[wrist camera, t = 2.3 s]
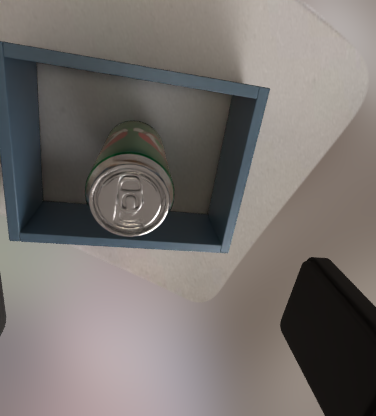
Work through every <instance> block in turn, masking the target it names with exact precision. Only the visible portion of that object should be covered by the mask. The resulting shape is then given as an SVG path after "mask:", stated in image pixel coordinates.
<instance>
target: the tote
mask: <svg viewBox="0 0 376 416" xmlns="http://www.w3.org/2000/svg"><path fill="white" fill-rule="evenodd" d="M36 62H38V63H44V64H50V65H56V66H62V67H68V68H74V69H80V70H86V71H92V72H98V73H104V74H110V75H116V76H122V77H128V78H134V79H140V80H146V81H152V82H159V83H165V84H171V85H177V86H183V87H189V88H195V89H201V90H207V91H213V92H219V93H225V94H231V95H233V96H232V101H231V106H230V110H229V115H228V120H227V125H226V130H225V135H224V139H223V144H222V149H221V154H220V159H219V163H218V168H217V173H216V178H215V183H214V188H213V192H212V197H211V202H210V207H209V212H208V215H207V214H196V213H184V212H172V211H170V212H169V214H168V215H167V216H166V218H165V219H164V220H163V221H162V223H161V224H160V225H159V226H158V227H157V228H155V229H154V230H152V231H150V232H149V233H146V234H143V235H140V236H132V237H128V236H120V235H117V234H114V233H111V232H109V231H108V230H106V229H105V228H103V227H102V226H101V225H100V224H99V223H98V222H97V221H96V219H95V218H94V216H93V214H92V213H91V211H90V209H89V207H88V205H87V204H75V203H63V202H50V201H43V188H42V168H41V148H40V127H39V107H38V87H37V66H36ZM269 91H270V88H265V87H259V86H254V85H248V84H242V83H237V82H231V81H225V80H220V79H214V78H208V77H202V76H197V75H191V74H185V73H180V72H174V71H168V70H162V69H157V68H151V67H145V66H140V65H134V64H128V63H122V62H117V61H111V60H105V59H100V58H94V57H88V56H82V55H77V54H71V53H65V52H60V51H54V50H48V49H42V48H37V47H31V46H25V45H20V44H14V43H8V42H2V41H0V157H1V167H2V176H3V185H4V195H5V204H6V213H7V223H8V231H9V240H10V241H22V242H39V243H56V244H74V245H91V246H109V247H126V248H144V249H162V250H179V251H197V252H215V253H228V252H229V248H230V244H231V240H232V237H233V233H234V229H235V225H236V221H237V217H238V213H239V209H240V205H241V201H242V197H243V193H244V189H245V185H246V181H247V177H248V174H249V170H250V166H251V162H252V158H253V154H254V150H255V146H256V142H257V138H258V134H259V130H260V126H261V122H262V118H263V115H264V111H265V107H266V103H267V99H268V95H269Z"/></svg>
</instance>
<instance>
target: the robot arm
mask: <svg viewBox="0 0 376 416" xmlns="http://www.w3.org/2000/svg"><path fill="white" fill-rule="evenodd" d="M5 323H6V312H5V305H4V297H3V290H2V283H1V276H0V335H1V334H2V332H3V329H4V327H5ZM280 326H281V331H282V333H283V335H284V337H285V339H286V341H287V343H288V345H289V347H290V349H291V351H292V353H293V355H294V357H295V358H296V361H297V362H298V364H299V366H300V368H301V370H302V372H303V374H304V376H305V378H306V380H307V382H308V384H309V386H310V388H311V389H312V391H313V393H314V395H315V397H316V399H317V401H318V403H319V405H320V407H321V409H322V411H323V413H324V415H325V416H376V307H375V306H374V305H373V304H372V303H371V302H370V301H369V300H368V299H367V298H366V297H365V296H364V295H363V294H362V292H361V291H360V290H359V289H357V287H356V286H355V285H354V284H353V283H352V282H351V281H350V280H349V279H348V278H347V277H346V276H345V275H344V274H343V273H342V272H341V271H340V270H339V269H338V268H337V267H336V266H335V264H333V263H332V261H331V260H329V259H328V258H314V257H311V258H309V259H308V260H307V261H305V262H304V263H303V264H302V266H301V268H300V271H299V274H298V276H297V279H296V282H295V284H294V287H293V290H292V292H291V295H290V298H289V300H288V303H287V306H286V308H285V311H284V314H283V316H282V319H281V324H280Z"/></svg>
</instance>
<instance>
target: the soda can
mask: <svg viewBox="0 0 376 416" xmlns="http://www.w3.org/2000/svg"><path fill="white" fill-rule="evenodd" d="M85 197H86V202H87V205H88V207H89V209H90V211H91V213H92V214H93V216H94V218H95V219H96V221H97V222H98V223H99V224H100V225H101V226H102V227H103V228H105V229H106V230H108V231H109V232H111V233H114V234H117V235H120V236H128V237H132V236H140V235H143V234H146V233H149V232H150V231H152V230H154V229H155V228H157V227H158V226H159V225H160V224H161V223H162V221H163V220H164V219H165V218H166V216H167V215H168V214H169V212H170V210H171V208H172V205H173V202H174V186H173V181H172V177H171V174H170V170H169V166H168V162H167V159H166V155H165V151H164V147H163V143H162V140H161V138H160V136H159V134H158V133H157V132H156V131H155V130H154V129H153V128H152V127H151V126H149V125H148V124H146V123H143V122H140V121H127V122H123V123H121V124H119V125H117V126H116V127H115V128H114V129H113V130H112V131H111V132H110V134H109V135H108V137H107V139H106V141H105V143H104V145H103V147H102V149H101V151H100V153H99V155H98V157H97V159H96V161H95V164H94V166H93V168H92V170H91V172H90V174H89V176H88V178H87V181H86V186H85Z"/></svg>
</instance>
